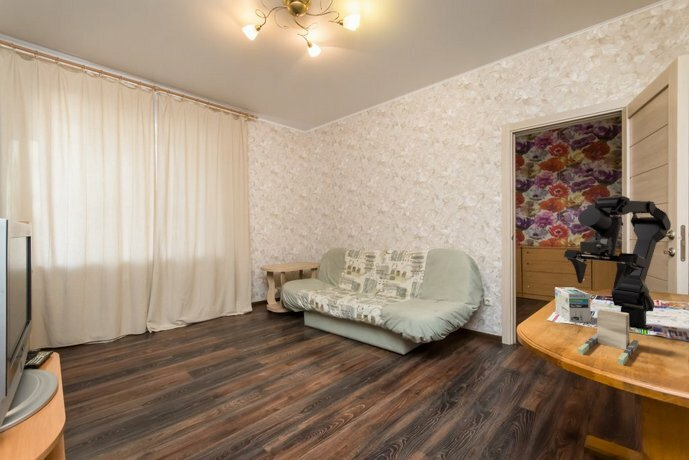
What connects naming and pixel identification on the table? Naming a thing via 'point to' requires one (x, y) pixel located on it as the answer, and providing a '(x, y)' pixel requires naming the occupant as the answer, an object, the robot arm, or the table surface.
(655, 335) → the table surface
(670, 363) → the table surface
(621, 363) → the channel
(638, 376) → the table surface
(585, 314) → the light bulb box
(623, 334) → the cream block
